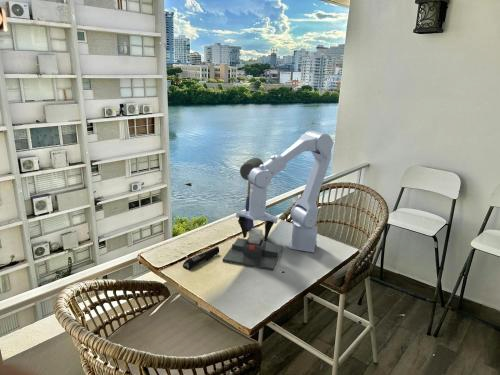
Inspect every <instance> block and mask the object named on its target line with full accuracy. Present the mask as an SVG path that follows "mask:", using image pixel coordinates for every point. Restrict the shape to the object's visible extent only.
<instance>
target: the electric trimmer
mask: <svg viewBox="0 0 500 375" xmlns="http://www.w3.org/2000/svg"><path fill="white" fill-rule="evenodd" d="M219 253H220V247H219V246H215V247H213V248H211V249H208V250H206V251H204V252H201V253H199V254H197V255H195V256H192V257H189V258H187V259H186V260H185V261H184V262H183V264H182V267H183V268H184V269H186V270H187V271H190V270H192V269H193V268H194V267H195V266H197V265H199V264H201V263H203V262H204V261H209V260H211V259H212V258H214V257H215V256H217V255H218V254H219Z"/></svg>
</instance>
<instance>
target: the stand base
mask: <svg viewBox="0 0 500 375" xmlns="http://www.w3.org/2000/svg"><path fill="white" fill-rule="evenodd" d="M248 240H249V236H248V237H247V239H246V238H241V237H237V239H236V240H235V242H234V243H232V244H231V247H230V248H229V250H228V251H227V252H226V254H225V255H224V256H223V258H222V262H223V263H228V264H235V265H240V266H245V267H250V268H256V269H260V270H266V271H271V272H273V271H275V269H276V266H277V264H278V262H279V259H280V257H281V254H282V252H283V250H284V245H282V244H278V243H277V244H276V243H271V242H270V243H269V242H267V241H264V238H262V244H261V246H257V245H252V244H248Z"/></svg>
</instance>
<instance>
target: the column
mask: <svg viewBox="0 0 500 375" xmlns="http://www.w3.org/2000/svg"><path fill="white" fill-rule="evenodd" d="M248 237H249V240H248V244H252V245H257V246H261V244H262V239H263V229H260V228H254V227H253V228H252V229H251V230H249V231H248Z"/></svg>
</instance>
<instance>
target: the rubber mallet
mask: <svg viewBox="0 0 500 375" xmlns="http://www.w3.org/2000/svg"><path fill="white" fill-rule="evenodd" d="M261 164H264V162H263V161H262V159H260V157H259V158H258V157H252V158H250V159H247V161H245V162H244V163H243V164H242V165H241V166H240V168H239V173H240V176H241V178H242V179H243V180H246V181H248V182H247V195H246V200H245V211H249V201H250V181H249V180H248V175H249V173H250V171H251V170H252V169H254V168H259V167H260V165H261ZM254 227H255V224H254V220H251V219H248V223H247V231H250V230H251V229H252V228H254Z"/></svg>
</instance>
